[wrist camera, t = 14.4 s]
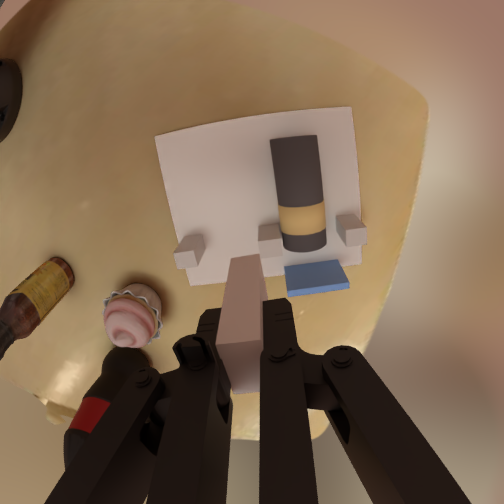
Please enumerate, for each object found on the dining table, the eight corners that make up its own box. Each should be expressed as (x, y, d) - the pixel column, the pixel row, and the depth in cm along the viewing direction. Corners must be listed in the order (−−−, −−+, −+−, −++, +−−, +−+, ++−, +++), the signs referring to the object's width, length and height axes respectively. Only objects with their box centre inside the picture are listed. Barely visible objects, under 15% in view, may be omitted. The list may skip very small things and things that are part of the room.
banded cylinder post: (275, 138, 32) (262, 141, 28) (319, 134, 30) (314, 136, 26) (288, 235, 37) (278, 252, 32) (329, 234, 35) (324, 252, 31)
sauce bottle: (50, 248, 39) (-32, 317, 21) (79, 269, 40) (2, 349, 22) (44, 277, 41) (-27, 347, 23) (71, 297, 43) (5, 376, 24)
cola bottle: (107, 361, 48) (43, 493, 21) (114, 333, 45) (36, 482, 17) (147, 381, 49) (98, 520, 22) (159, 355, 46) (102, 516, 19)
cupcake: (171, 277, 40) (148, 320, 31) (172, 329, 44) (154, 375, 35) (111, 268, 40) (78, 305, 31) (118, 319, 44) (92, 360, 34)
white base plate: (156, 136, 32) (133, 139, 26) (349, 106, 30) (368, 103, 24) (191, 283, 40) (179, 311, 34) (359, 261, 38) (376, 286, 32)
